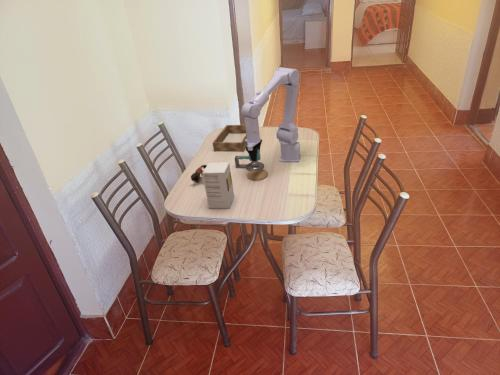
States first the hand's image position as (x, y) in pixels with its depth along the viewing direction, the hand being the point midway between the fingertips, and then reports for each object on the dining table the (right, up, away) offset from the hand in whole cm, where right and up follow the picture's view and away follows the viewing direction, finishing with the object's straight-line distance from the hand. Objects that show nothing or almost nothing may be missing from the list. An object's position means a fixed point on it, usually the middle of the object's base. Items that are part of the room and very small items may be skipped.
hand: (255, 158), depth 163 cm
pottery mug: (-25, -11, +6) cm, 28 cm away
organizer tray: (-11, +13, +41) cm, 45 cm away
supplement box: (-14, -20, -12) cm, 28 cm away
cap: (-3, 0, +1) cm, 3 cm away
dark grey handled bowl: (-3, -3, +13) cm, 13 cm away
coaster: (+1, -8, +5) cm, 9 cm away
